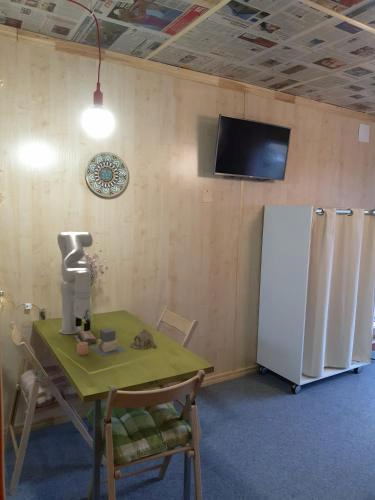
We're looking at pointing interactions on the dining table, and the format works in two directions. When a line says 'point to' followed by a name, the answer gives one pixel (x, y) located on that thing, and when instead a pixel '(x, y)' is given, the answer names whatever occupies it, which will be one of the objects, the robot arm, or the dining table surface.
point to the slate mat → (100, 352)
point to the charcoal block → (107, 334)
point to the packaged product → (85, 337)
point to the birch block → (107, 345)
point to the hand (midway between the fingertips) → (82, 328)
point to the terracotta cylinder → (82, 348)
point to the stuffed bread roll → (143, 340)
